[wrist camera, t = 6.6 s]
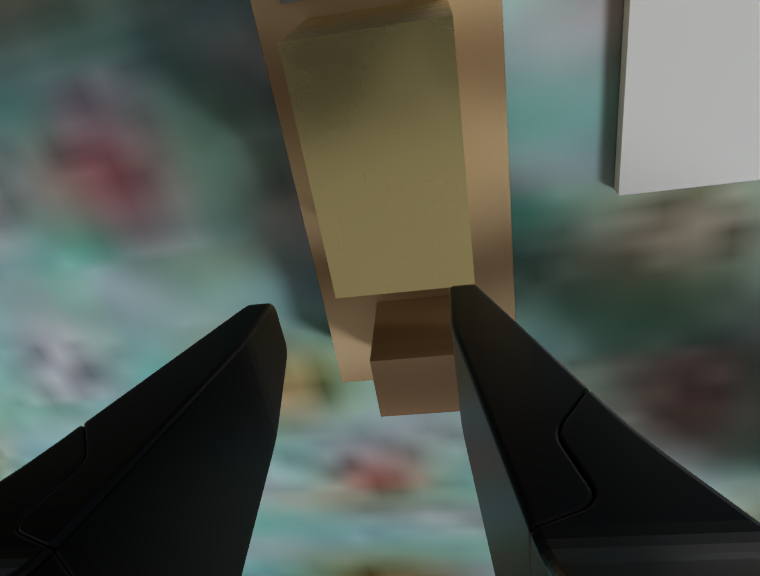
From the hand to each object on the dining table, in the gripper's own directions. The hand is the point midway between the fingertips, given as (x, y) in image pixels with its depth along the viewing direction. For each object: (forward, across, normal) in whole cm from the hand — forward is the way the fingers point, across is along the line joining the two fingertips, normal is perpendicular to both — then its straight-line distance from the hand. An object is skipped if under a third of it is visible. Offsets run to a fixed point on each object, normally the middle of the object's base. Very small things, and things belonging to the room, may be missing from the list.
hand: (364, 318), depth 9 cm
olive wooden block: (+10, 0, 0) cm, 11 cm away
